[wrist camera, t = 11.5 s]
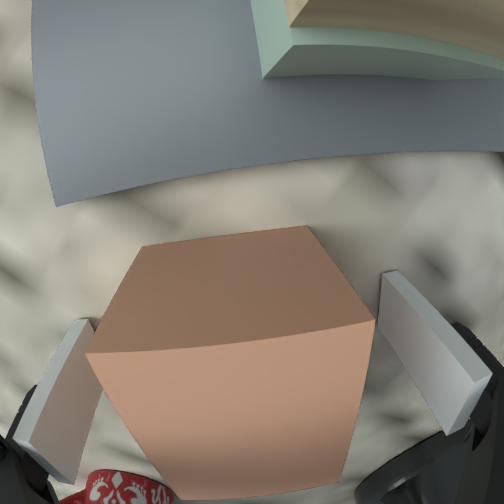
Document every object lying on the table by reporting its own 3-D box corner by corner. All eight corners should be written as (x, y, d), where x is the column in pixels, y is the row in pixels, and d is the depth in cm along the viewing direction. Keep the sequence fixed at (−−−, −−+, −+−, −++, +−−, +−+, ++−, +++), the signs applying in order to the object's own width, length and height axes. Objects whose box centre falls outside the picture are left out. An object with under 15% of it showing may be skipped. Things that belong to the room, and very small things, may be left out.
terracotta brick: (307, 379, 15) (338, 482, 9) (187, 393, 14) (181, 500, 9) (305, 224, 11) (375, 319, 6) (142, 245, 11) (84, 353, 6)
